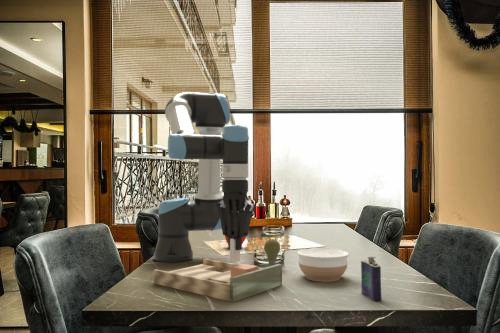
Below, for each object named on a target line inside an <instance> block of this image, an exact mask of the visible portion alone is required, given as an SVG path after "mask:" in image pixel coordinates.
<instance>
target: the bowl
mask: <svg viewBox="0 0 500 333" xmlns="http://www.w3.org/2000/svg"><path fill="white" fill-rule="evenodd" d="M297 255H298V267H299V269H300V271H301V272H302V273H303V275H305V278H306V279H307V280H310V281H314V282H323V283H324V282H326V283H327V282H335V281H339V280H340V279H341V277H342V276H343V275H344V274H345V272H346V270H347V269H348V257H349V255H350V254H349V252H347V251H345V250H341V249H335V248H325V247H324V248H321V247H319V248H305V249H300V250H298V251H297Z"/></svg>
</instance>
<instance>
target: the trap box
mask: <svg viewBox="0 0 500 333" xmlns="http://www.w3.org/2000/svg"><path fill="white" fill-rule="evenodd" d="M202 262H203V263H201V264H196V265H193V266H192V265H191V266H189V267H183V268H179V269H174V270H170V271H169V270H168V271H166V270H162V269H153V284H156V285H160V286H163V287H167V288H172V289H176V290H180V291H184V292H185V291H186V292H190V293H194V294H197V295H202V296H206V297H210V298H214V299H217V300H218V299H220V300H223V301H227V302H232V303H235V302H238V301H241V300H243V299H246V298H248V297H252V296H254V295H257V294H260V293H263V292H267V291H269V290H272V289H274V288H277V287H281V286H282V285H283V264H281V263H276V265H273V266H269V265H268V266H267V267H266V266H265V267H259V266H258V270H255V271H252V272H248V273H245V274H241V275H237V276H234V277H231V267H232V266H236V265H240V263H239V264H238V263H235V262H227V261H222V260H215V259H208V258H203V260H202Z"/></svg>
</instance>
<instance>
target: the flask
mask: <svg viewBox="0 0 500 333" xmlns="http://www.w3.org/2000/svg"><path fill="white" fill-rule="evenodd" d="M367 259H368V260H366V259H365V260H360V273H361V282H360V283H361V285H360V286H361V290H360V291H361V295H364V296H365V297H366V298H368V299H369V298H370V300H371V302H375V303H380V302H383V301H382V276H381V273H382V270H381V269H382V267H381V266H380V265H379V264H378V263H377V262H376V260H375V259H376V256H367Z"/></svg>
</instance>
